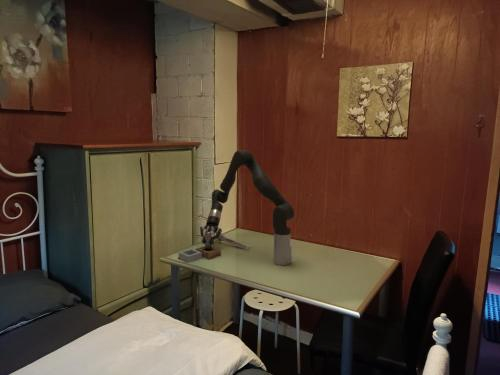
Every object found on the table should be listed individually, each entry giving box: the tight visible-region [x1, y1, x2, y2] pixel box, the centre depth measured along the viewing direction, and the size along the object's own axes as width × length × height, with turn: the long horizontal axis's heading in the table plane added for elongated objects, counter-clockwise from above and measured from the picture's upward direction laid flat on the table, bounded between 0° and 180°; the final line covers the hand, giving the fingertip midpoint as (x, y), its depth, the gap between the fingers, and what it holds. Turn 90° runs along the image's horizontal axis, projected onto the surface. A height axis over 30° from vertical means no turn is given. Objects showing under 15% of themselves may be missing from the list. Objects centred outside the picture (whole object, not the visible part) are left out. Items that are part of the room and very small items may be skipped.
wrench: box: [214, 230, 251, 251], centre depth 235 cm, size 8×2×30 cm
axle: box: [204, 230, 213, 251], centre depth 216 cm, size 4×4×13 cm
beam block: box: [195, 245, 222, 260], centre depth 217 cm, size 12×9×4 cm
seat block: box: [178, 248, 203, 263], centre depth 211 cm, size 10×10×4 cm
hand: (207, 243), depth 214 cm, fingers closed on axle, 4 cm apart
